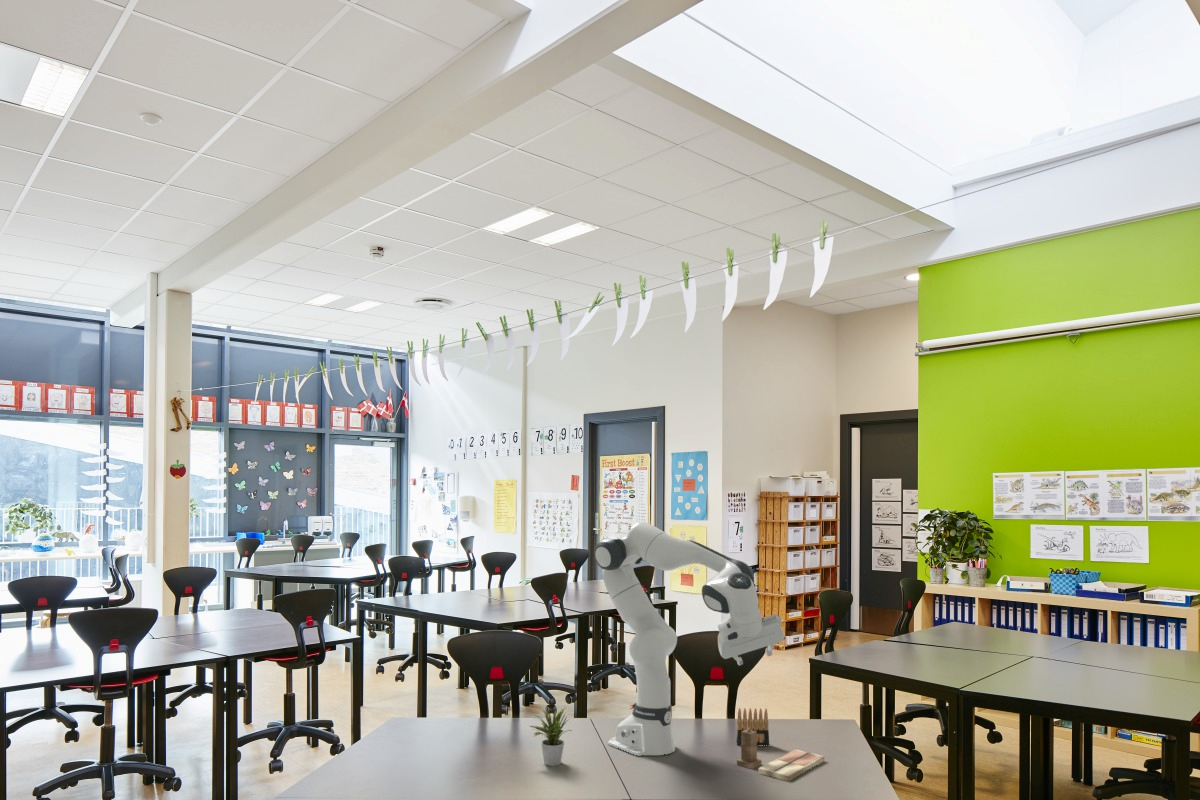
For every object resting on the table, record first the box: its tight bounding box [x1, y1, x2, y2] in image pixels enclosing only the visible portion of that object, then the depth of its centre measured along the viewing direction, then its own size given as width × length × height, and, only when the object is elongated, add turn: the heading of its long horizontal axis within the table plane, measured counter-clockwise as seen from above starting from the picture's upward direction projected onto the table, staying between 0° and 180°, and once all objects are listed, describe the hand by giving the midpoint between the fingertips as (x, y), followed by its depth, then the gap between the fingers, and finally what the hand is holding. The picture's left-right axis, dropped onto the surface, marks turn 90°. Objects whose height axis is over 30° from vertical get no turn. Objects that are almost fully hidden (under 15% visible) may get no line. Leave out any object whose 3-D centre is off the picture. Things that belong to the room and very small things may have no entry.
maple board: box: [757, 748, 825, 782], centre depth 259 cm, size 10×24×2 cm, turn 140°
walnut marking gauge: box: [736, 727, 762, 770], centre depth 261 cm, size 6×6×11 cm
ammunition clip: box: [736, 707, 770, 747], centre depth 281 cm, size 11×2×12 cm, turn 89°
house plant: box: [529, 707, 573, 767], centre depth 262 cm, size 14×14×16 cm
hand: (754, 659), depth 258 cm, fingers open, 8 cm apart
